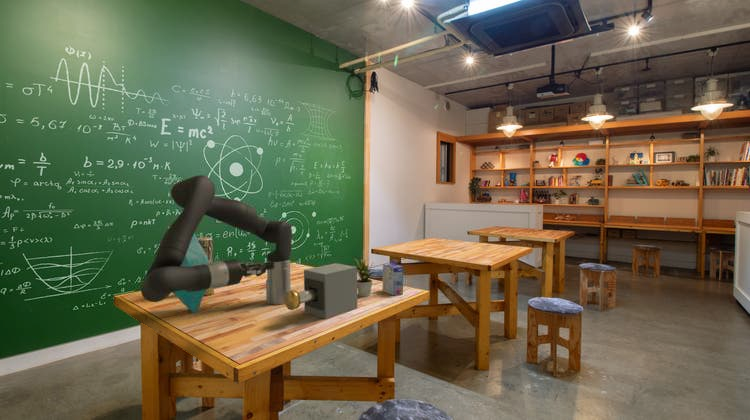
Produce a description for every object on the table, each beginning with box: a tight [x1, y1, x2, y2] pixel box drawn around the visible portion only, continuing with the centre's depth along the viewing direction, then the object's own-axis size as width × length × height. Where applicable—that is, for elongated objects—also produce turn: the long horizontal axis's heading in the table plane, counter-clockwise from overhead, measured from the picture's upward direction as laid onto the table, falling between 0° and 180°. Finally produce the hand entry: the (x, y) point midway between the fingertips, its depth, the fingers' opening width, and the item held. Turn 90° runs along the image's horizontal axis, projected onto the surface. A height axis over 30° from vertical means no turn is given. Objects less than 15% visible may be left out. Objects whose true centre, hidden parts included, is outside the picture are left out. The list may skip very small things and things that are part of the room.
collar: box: [303, 277, 324, 311], centre depth 134 cm, size 1×10×10 cm, turn 49°
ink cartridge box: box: [382, 259, 404, 296], centre depth 163 cm, size 10×6×14 cm, turn 27°
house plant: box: [348, 258, 378, 298], centre depth 161 cm, size 14×14×16 cm
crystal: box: [171, 232, 210, 313], centre depth 139 cm, size 12×14×30 cm
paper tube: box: [197, 236, 215, 296], centre depth 163 cm, size 7×7×25 cm
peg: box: [284, 288, 317, 311], centre depth 131 cm, size 15×6×6 cm, turn 139°
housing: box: [303, 262, 358, 320], centre depth 140 cm, size 16×12×16 cm
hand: (273, 264), depth 120 cm, fingers closed
